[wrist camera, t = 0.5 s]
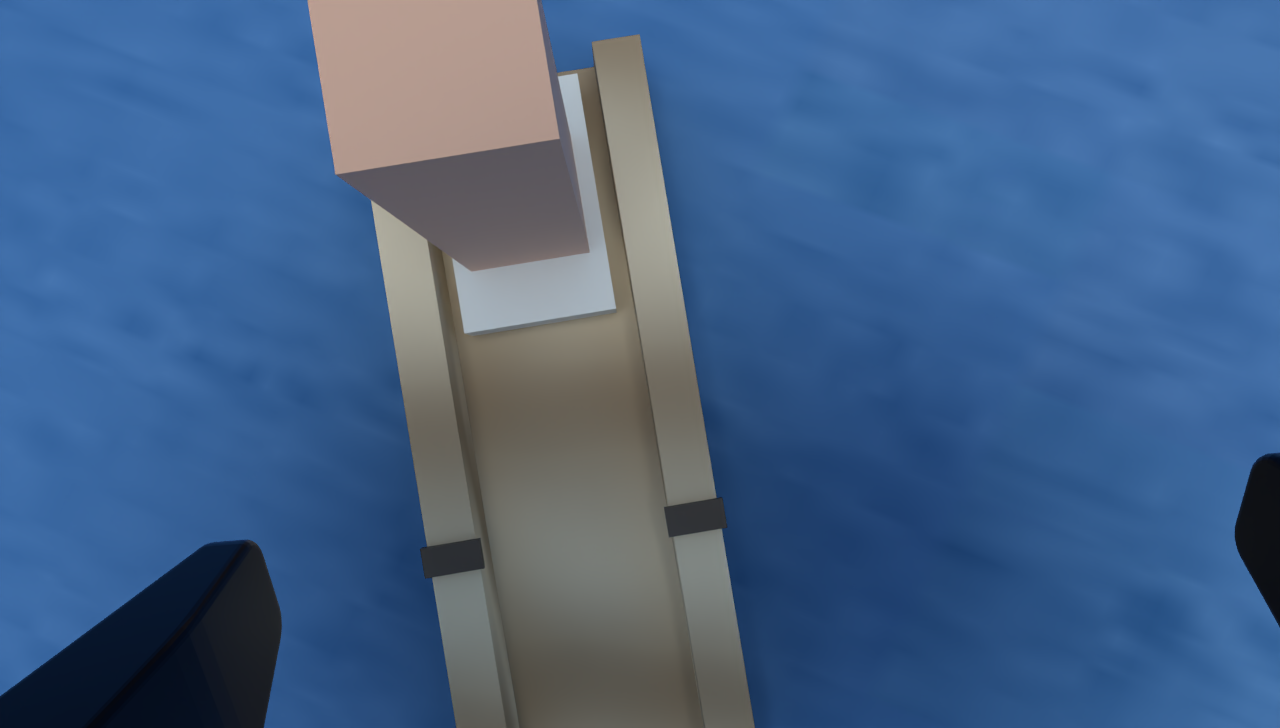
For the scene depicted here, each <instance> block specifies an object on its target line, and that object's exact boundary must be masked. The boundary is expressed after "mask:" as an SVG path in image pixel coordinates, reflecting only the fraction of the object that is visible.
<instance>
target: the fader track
mask: <svg viewBox="0 0 1280 728" xmlns="http://www.w3.org/2000/svg"><path fill="white" fill-rule="evenodd" d="M592 50H593V60H594V67H591V68H585V69H579V70H572V71H566V72H560V73H557V75H558V76H564V75H570V74H576V73H577V75H578V81H579V87H580V93H581V99H582V105H583V111H584V117H585V123H586V129H587V135H588V141H589V147H590V153H591V159H592V166H593V172H594V178H595V184H596V190H597V196H598V202H599V208H600V214H601V220H602V226H603V232H604V238H605V244H606V250H607V256H608V262H609V268H610V275H611V281H612V287H613V293H614V299H615V305H616V312H617V313H611V314H605V315H599V316H593V317H587V318H581V319H575V320H569V321H563V322H556V323H550V324H544V325H538V326H532V327H526V328H520V329H514V330H508V331H502V332H495V333H489V334H483V335H477V336H471V335H468V334H464V328H463V322H462V316H461V310H460V303H459V297H458V291H457V285H456V279H455V273H454V267H453V260H452V257H450V256H449V255H447V254H446V253H445V252H443V251H442V250H440V249H439V248H438V247H436V246H435V245H433V244H432V243H431V242H429V241H428V240H426V239H425V238H424V237H422V236H421V235H419V234H418V233H417V232H415V231H414V230H413V229H411V228H410V227H408V226H407V225H406V224H404V223H403V222H401V221H400V220H399V219H397V218H396V217H394V216H393V215H392V214H390V213H389V212H387V211H386V210H385V209H383V208H382V207H380V206H379V205H378V204H376V203H375V202H373V201H372V200H371V203H372V209H373V215H374V221H375V228H376V234H377V240H378V246H379V252H380V259H381V265H382V271H383V277H384V283H385V289H386V296H387V302H388V308H389V314H390V320H391V327H392V333H393V339H394V345H395V351H396V357H397V364H398V370H399V376H400V382H401V388H402V395H403V401H404V407H405V413H406V419H407V425H408V432H409V438H410V444H411V450H412V456H413V463H414V469H415V475H416V481H417V487H418V493H419V500H420V506H421V512H422V518H423V524H424V531H425V537H426V543H427V547H423V548H421V549H420V551H421V557H422V563H423V570H424V576H425V579H426V578H432V580H433V586H434V592H435V599H436V605H437V611H438V617H439V623H440V629H441V636H442V642H443V648H444V654H445V660H446V667H447V673H448V679H449V685H450V691H451V697H452V704H453V710H454V716H455V722H456V728H755V726H754V720H753V714H752V708H751V702H750V696H749V690H748V684H747V678H746V672H745V666H744V660H743V654H742V648H741V642H740V636H739V630H738V624H737V618H736V612H735V606H734V600H733V594H732V588H731V582H730V576H729V570H728V564H727V558H726V552H725V546H724V540H723V534H722V528H727V523H726V517H725V511H724V505H723V499H722V497H720V498H717V497H716V491H715V485H714V479H713V473H712V467H711V461H710V455H709V449H708V443H707V437H706V431H705V425H704V419H703V413H702V407H701V401H700V395H699V389H698V383H697V377H696V371H695V365H694V359H693V353H692V347H691V341H690V335H689V329H688V323H687V317H686V311H685V305H684V299H683V293H682V287H681V281H680V275H679V269H678V263H677V257H676V251H675V245H674V239H673V233H672V227H671V221H670V215H669V209H668V203H667V197H666V191H665V185H664V179H663V173H662V167H661V161H660V155H659V149H658V143H657V136H656V130H655V124H654V118H653V112H652V106H651V100H650V94H649V88H648V82H647V76H646V70H645V64H644V58H643V52H642V46H641V40H640V34H639V35H632V36H626V37H620V38H613V39H607V40H601V41H595V42H592Z"/></svg>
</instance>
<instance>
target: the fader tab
mask: <svg viewBox="0 0 1280 728" xmlns="http://www.w3.org/2000/svg"><path fill="white" fill-rule="evenodd" d="M308 6H309V13H310V19H311V25H312V31H313V37H314V44H315V50H316V56H317V62H318V68H319V75H320V81H321V87H322V93H323V99H324V106H325V112H326V118H327V124H328V130H329V137H330V143H331V149H332V155H333V161H334V168H335V174H336V175H337V176H338V177H340V178H341V179H343V180H344V181H345V182H347V183H348V184H350V185H351V186H352V187H354V188H355V189H357V190H358V191H359V192H361V193H362V194H364V195H365V196H366V197H368V198H369V199H371V200H372V201H373V202H375V203H376V204H378V205H379V206H380V207H382V208H383V209H385V210H386V211H387V212H389V213H390V214H392V215H393V216H394V217H396V218H397V219H399V220H400V221H401V222H403V223H404V224H406V225H407V226H408V227H410V228H411V229H413V230H414V231H415V232H417V233H418V234H419V235H421V236H422V237H424V238H425V239H426V240H428V241H429V242H431V243H432V244H433V245H435V246H436V247H438V248H439V249H440V250H442V251H443V252H445V253H446V254H447V255H449V256H450V257H452V260H453V267H454V273H455V279H456V285H457V291H458V297H459V303H460V310H461V316H462V322H463V328H464V334H468V335H471V336H477V335H483V334H489V333H495V332H502V331H508V330H514V329H520V328H526V327H532V326H538V325H544V324H550V323H556V322H563V321H569V320H575V319H581V318H587V317H593V316H599V315H605V314H611V313H617V312H616V305H615V299H614V293H613V287H612V281H611V275H610V268H609V262H608V256H607V250H606V244H605V238H604V232H603V226H602V220H601V214H600V208H599V202H598V196H597V190H596V184H595V178H594V172H593V166H592V159H591V153H590V147H589V141H588V135H587V129H586V123H585V117H584V111H583V105H582V99H581V93H580V87H579V81H578V75H577V73H576V74H570V75H564V76H558V75H557V71H556V66H555V61H554V57H553V52H552V48H551V43H550V38H549V34H548V29H547V25H546V20H545V15H544V11H543V6H542V2H541V0H308Z"/></svg>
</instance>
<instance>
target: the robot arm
mask: <svg viewBox="0 0 1280 728" xmlns="http://www.w3.org/2000/svg"><path fill="white" fill-rule="evenodd" d="M1235 541H1236V546H1237V549H1238V552H1239V554H1240V556H1241V558H1242V560H1243V562H1244V564H1245V565H1246V567H1247V569H1248V571H1249V573H1250V574H1251V576H1252V578H1253V580H1254V582H1255V583H1256V585H1257V587H1258V589H1259V591H1260V592H1261V594H1262V596H1263V598H1264V600H1265V601H1266V603H1267V605H1268V607H1269V609H1270V610H1271V612H1272V614H1273V616H1274V618H1275V619H1276V621H1277V623H1278V625H1279V627H1280V453H1271V454H1266V455H1264V456H1262V457H1260V458H1258V459H1257V461H1256V462H1255V463H1254V464H1253V466H1252V469H1251V472H1250V475H1249V479H1248V482H1247V486H1246V489H1245V493H1244V496H1243V500H1242V503H1241V507H1240V511H1239V514H1238V518H1237V521H1236V525H1235ZM281 629H282V622H281V612H280V608H279V604H278V601H277V598H276V595H275V592H274V588H273V585H272V582H271V579H270V576H269V573H268V569H267V566H266V563H265V560H264V557H263V554H262V551H261V549H260V548H259V546H258V545H257V544H256V543H255V542H253V541H251V540H236V541H224V542H213V543H209V544H206V545H204V546H202V547H201V548H199V549H198V550H197V551H195V552H194V553H193V554H191V555H190V556H189V557H187V558H186V559H185V560H183V561H182V562H181V563H179V564H178V565H177V566H175V567H174V568H173V569H171V570H170V571H168V572H167V573H166V574H164V575H163V576H162V577H160V578H159V579H158V580H156V581H155V582H154V583H152V584H151V585H150V586H148V587H147V588H146V589H144V590H143V591H142V592H140V593H139V594H137V595H136V596H135V597H133V598H132V599H131V600H129V601H128V602H127V603H125V604H124V605H123V606H121V607H120V608H119V609H117V610H116V611H115V612H113V613H112V614H111V615H109V616H108V617H106V618H105V619H104V620H102V621H101V622H100V623H98V624H97V625H96V626H94V627H93V628H92V629H90V630H89V631H88V632H86V633H85V634H84V635H82V636H81V637H80V638H78V639H77V640H75V641H74V642H73V643H71V644H70V645H69V646H67V647H66V648H65V649H63V650H62V651H61V652H59V653H58V654H57V655H55V656H54V657H53V658H51V659H50V660H48V661H47V662H46V663H44V664H43V665H42V666H40V667H39V668H38V669H36V670H35V671H34V672H32V673H31V674H30V675H28V676H27V677H26V678H24V679H23V680H21V681H20V682H19V683H17V684H16V685H15V686H13V687H12V688H11V689H9V690H8V691H7V692H5V693H4V694H3V695H1V696H0V728H264V723H265V718H266V713H267V707H268V702H269V697H270V691H271V686H272V681H273V676H274V670H275V665H276V660H277V654H278V649H279V644H280V638H281Z"/></svg>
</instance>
